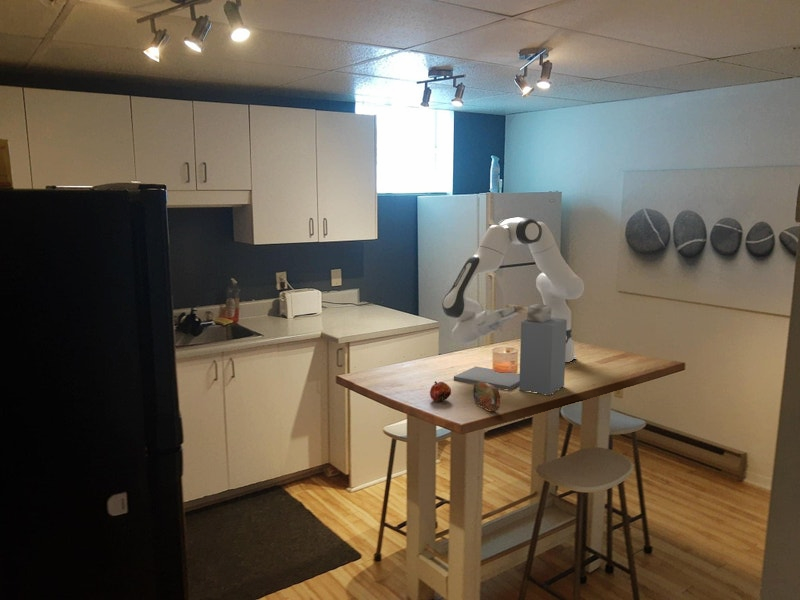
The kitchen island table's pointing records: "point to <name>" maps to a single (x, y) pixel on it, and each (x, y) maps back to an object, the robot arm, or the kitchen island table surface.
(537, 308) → the mallet
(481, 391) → the tin
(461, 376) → the board
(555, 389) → the stand
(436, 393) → the pomegranate
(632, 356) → the kitchen island table surface
